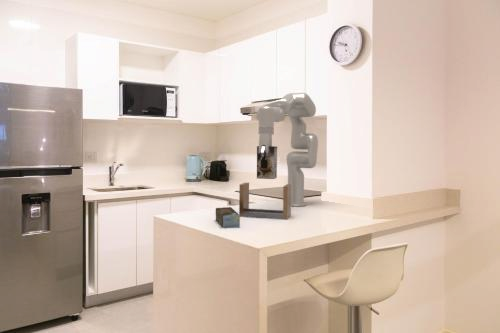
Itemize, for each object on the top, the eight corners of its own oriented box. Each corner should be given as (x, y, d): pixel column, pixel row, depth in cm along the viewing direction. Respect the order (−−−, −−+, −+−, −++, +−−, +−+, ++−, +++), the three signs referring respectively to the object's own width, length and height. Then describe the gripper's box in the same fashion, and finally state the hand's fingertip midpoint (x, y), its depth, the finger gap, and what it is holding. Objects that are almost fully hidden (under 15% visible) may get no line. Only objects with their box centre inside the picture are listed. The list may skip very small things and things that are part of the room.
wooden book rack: (245, 213, 216) (245, 182, 215) (290, 215, 210) (291, 184, 209) (239, 216, 206) (239, 184, 205) (287, 219, 199) (287, 186, 198)
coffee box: (256, 178, 205) (256, 146, 204) (259, 177, 211) (259, 145, 210) (274, 179, 202) (274, 146, 201) (277, 178, 208) (277, 145, 207)
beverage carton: (222, 228, 178) (222, 213, 178) (215, 220, 197) (215, 206, 196) (240, 228, 180) (240, 213, 180) (231, 219, 199) (231, 206, 198)
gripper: (262, 131, 215) (262, 166, 216) (254, 131, 198) (254, 168, 199) (277, 132, 213) (276, 166, 214) (269, 131, 196) (269, 169, 197)
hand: (265, 167), depth 206 cm, fingers closed on coffee box, 6 cm apart
